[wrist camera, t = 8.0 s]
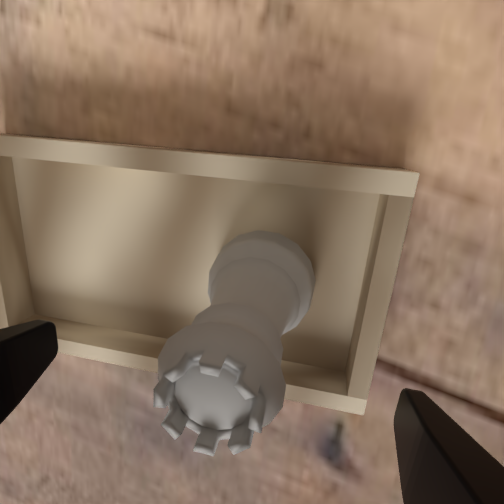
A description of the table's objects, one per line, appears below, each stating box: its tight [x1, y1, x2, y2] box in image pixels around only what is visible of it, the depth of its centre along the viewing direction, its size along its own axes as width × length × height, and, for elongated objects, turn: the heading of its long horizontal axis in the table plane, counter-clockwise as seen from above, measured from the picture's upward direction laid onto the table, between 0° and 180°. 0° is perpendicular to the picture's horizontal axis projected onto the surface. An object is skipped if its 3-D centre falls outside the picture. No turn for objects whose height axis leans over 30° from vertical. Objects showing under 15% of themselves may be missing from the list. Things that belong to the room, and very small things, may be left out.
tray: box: [0, 133, 420, 415], centre depth 15 cm, size 18×10×2 cm, turn 85°
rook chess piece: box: [154, 230, 316, 456], centre depth 11 cm, size 4×4×8 cm
